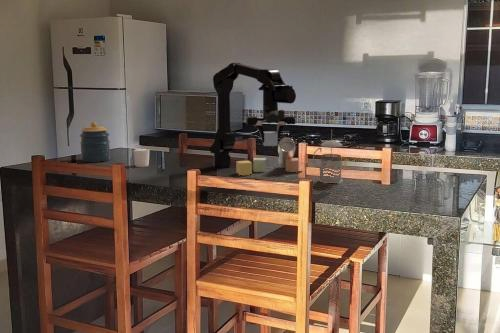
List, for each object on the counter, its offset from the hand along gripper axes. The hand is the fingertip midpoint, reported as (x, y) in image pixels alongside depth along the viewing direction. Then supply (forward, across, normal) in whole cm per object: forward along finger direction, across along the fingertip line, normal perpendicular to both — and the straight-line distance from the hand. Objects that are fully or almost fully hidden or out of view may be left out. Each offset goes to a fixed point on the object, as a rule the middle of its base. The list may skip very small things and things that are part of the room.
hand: (270, 142), depth 218 cm
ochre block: (+13, -10, +3) cm, 17 cm away
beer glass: (+11, +9, +16) cm, 22 cm away
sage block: (+13, -3, +9) cm, 16 cm away
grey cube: (+1, 0, 0) cm, 1 cm away
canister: (+13, -74, +43) cm, 87 cm away
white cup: (+13, -52, +27) cm, 60 cm away
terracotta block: (+13, +11, +6) cm, 18 cm away
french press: (+13, +20, -14) cm, 28 cm away
